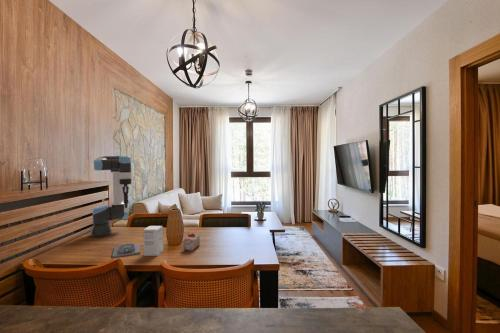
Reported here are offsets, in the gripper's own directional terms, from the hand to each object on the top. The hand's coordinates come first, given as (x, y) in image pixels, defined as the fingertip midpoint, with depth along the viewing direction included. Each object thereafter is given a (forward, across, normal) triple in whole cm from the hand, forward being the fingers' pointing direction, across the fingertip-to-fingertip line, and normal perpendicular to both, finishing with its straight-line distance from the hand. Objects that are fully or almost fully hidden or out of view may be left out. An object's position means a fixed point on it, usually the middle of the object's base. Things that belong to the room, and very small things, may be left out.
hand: (126, 212), depth 181 cm
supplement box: (+25, +22, +16) cm, 37 cm away
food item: (+25, +23, +40) cm, 53 cm away
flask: (+22, +7, 0) cm, 23 cm away
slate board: (+24, +10, 0) cm, 26 cm away
